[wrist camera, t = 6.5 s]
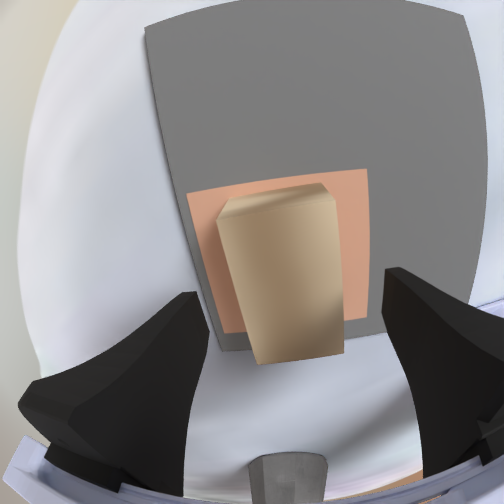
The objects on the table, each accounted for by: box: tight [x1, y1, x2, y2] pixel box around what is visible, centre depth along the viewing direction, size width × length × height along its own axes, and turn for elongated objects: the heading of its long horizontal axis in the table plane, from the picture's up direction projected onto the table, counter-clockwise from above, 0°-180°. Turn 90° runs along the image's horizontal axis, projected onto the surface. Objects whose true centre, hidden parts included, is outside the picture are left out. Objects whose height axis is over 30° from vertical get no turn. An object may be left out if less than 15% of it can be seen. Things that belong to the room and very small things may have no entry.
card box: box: [216, 182, 344, 365], centre depth 12 cm, size 4×7×3 cm, turn 12°
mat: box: [144, 0, 488, 351], centre depth 11 cm, size 18×16×1 cm
